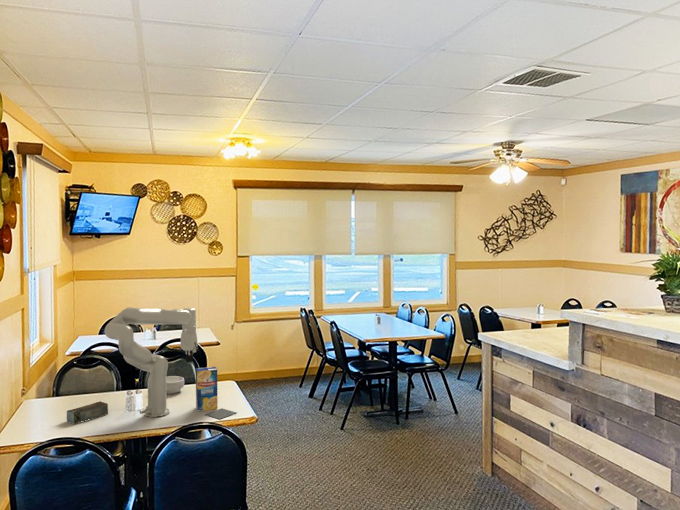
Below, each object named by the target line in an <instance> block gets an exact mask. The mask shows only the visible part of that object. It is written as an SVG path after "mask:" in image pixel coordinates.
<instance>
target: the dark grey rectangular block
mask: <svg viewBox="0 0 680 510" xmlns="http://www.w3.org/2000/svg"><path fill="white" fill-rule="evenodd" d="M105 414H107V415H109V405H108V402H103V401H96V402H94V403H90V404H86V405H83V406H80V407H76V408H74V409H73V408H72V409H69V410H66V422H67V421H68V422H67V423H69V422H71V423H70V424H72V423H74V424H73V425H76V424H75V423H77V424H79V423H78V422H81V421H84V422H86V421H85V420H88V419H91V420H93V419H92V418H94V419H96V418H95V417H97V418H100V417H99V416H101V417H103V416H102V415H104V416H106V415H105ZM88 421H89V420H88ZM81 423H82V422H81Z"/></svg>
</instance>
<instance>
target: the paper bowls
mask: <svg viewBox="0 0 680 510" xmlns="http://www.w3.org/2000/svg"><path fill="white" fill-rule="evenodd" d="M184 387H185V378H184V377H182V376H177V375H170V376H169V375H168V376H166V395H172V394H177V393H179V392H180V391H181V390H182V389H183V388H184Z"/></svg>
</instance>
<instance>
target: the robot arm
mask: <svg viewBox="0 0 680 510" xmlns="http://www.w3.org/2000/svg"><path fill="white" fill-rule="evenodd" d="M196 313H197V312H196V308H194V307H184V308H179V309H178V308H177V309H176V308H174V309H165V308H145V307H143V308H139V307H128V306H127V307H126V308H125V309H122V310H121V311H120V312H119V313H118V314H117V315H116V316H114V317H113V318H112V319H111V320H110V321H109V322H108V323H107V324H106V325H105V328H104V335H105V336H106V338H108V339H111V340H115V341H118V351H119V353H120V354H121V355H122V356H123V359H124V361H125V362H126V363H127V364H129V365H131V366H133V367H135V368H137V369H139V370H141V371H144V372H147V373H149V376H148V379H147V406H145V408H144V409H141V410H139V414H140V415H143V414H144V416H146V417H148V416H149V417H148V418H158V417H157V416H161V417H164V416H163V415H165V416H167V415H169V414H170V411H171V410H170V409H169V408H168V407H167V406H168V404H167V394H166V377H167V374H168V373H167V372H168V368H169V362H168V360H167V358H166V357H165V356H162V355H159V354H154V353H152V352H151V350H149V349H148V347H145V346H143V345H141V344H139V343H138V342H136V341H135V340H134V335H135V334H134V333H135V332H134V330H133V327H131V326H130V325H134V326H135V325H136V326H139V325H140V326H141V325H142V326H145V325H153V326H154V325H162V326H163V325H182V326H181V327H182V329H181V335H180V349H181V350H183V351H184V352H185V355H186V359H185V360H186V363H187V362H188V363H192V362H193V361H194V357H193V356H194V353H197V349H198V345H199V344H198V336H197V316H196ZM168 413H169V414H168ZM166 414H167V415H166Z"/></svg>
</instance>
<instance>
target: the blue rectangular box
mask: <svg viewBox="0 0 680 510" xmlns="http://www.w3.org/2000/svg"><path fill="white" fill-rule="evenodd" d="M195 408H196V411H197V412H199V411H198V410H203V411H209V410H208V409H212V410H218V368H217V367H216V366H209V367H208V366H206V367H198V368H197V367H196V368H195Z"/></svg>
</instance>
